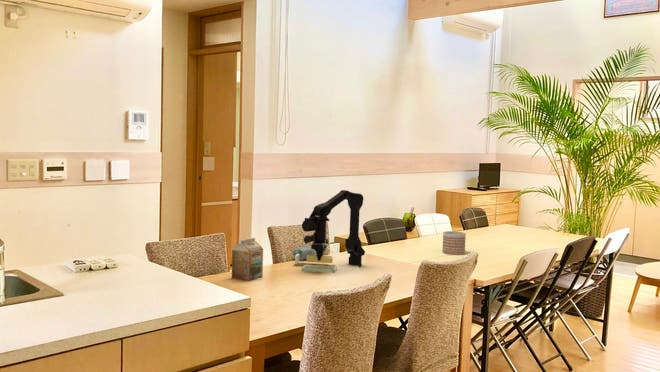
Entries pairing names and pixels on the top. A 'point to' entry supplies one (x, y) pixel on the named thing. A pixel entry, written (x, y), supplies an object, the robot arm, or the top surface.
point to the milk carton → (247, 260)
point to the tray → (319, 268)
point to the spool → (303, 252)
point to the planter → (454, 243)
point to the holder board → (312, 264)
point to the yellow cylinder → (323, 260)
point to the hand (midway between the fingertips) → (319, 260)
